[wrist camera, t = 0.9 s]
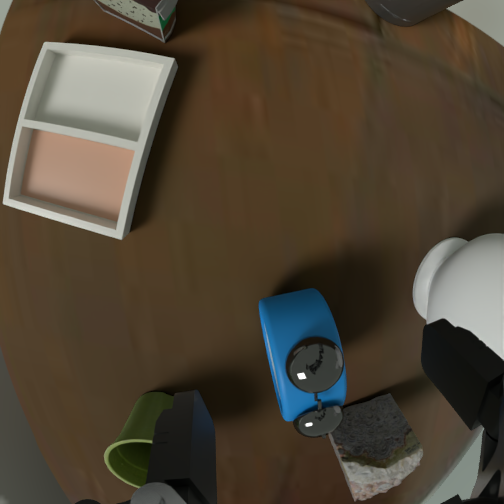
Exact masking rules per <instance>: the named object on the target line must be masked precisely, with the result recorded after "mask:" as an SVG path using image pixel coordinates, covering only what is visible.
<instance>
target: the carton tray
mask: <svg viewBox="0 0 504 504" xmlns="http://www.w3.org/2000/svg"><path fill="white" fill-rule="evenodd" d="M177 69H178V65H177V63H176V60H175V59H174V58H170V57H165V56H160V55H155V54H149V53H143V52H138V51H131V50H125V49H118V48H110V47H102V46H93V45H83V44H71V43H54V42H44V44H43V47H42V49H41V52H40V54H39V57H38V59H37V62H36V65H35V68H34V70H33V73H32V76H31V79H30V82H29V85H28V88H27V91H26V95H25V98H24V101H23V105H22V108H21V112H20V116H19V119H18V123H17V127H16V131H15V136H14V140H13V145H12V150H11V155H10V160H9V165H8V171H7V177H6V184H5V191H4V198H3V204H5V205H8V206H11V207H14V208H17V209H21V210H24V211H27V212H30V213H33V214H37V215H40V216H43V217H47V218H50V219H53V220H56V221H60V222H63V223H66V224H70V225H73V226H76V227H80V228H83V229H87V230H90V231H93V232H97V233H100V234H104V235H107V236H111V237H114V238H117V239H121V240H122V239H123V238H124V237H125V236H126V235H127V234H129V232H130V227H131V223H132V218H133V214H134V210H135V206H136V201H137V197H138V193H139V189H140V185H141V182H142V178H143V174H144V170H145V167H146V163H147V160H148V156H149V153H150V149H151V146H152V142H153V139H154V136H155V133H156V129H157V126H158V123H159V120H160V117H161V114H162V111H163V108H164V105H165V102H166V99H167V96H168V93H169V90H170V88H171V85H172V82H173V79H174V77H175V74H176V71H177Z"/></svg>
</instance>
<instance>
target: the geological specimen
mask: <svg viewBox="0 0 504 504" xmlns="http://www.w3.org/2000/svg"><path fill="white" fill-rule="evenodd" d="M328 435H329V438H330V440H331V443H332V445H333V448H334V450H335V453H336V455H337V458H338V460H339V462H340V465H341V468H342V470H343V472H344V475H345V478H346V481H347V483H348V486H349V488H350V491H351V493H352V496H353V498H354V501H356V500H361V501H362V500H366V499H368V498H372V497H373V496H374V495H376V494H378V493H380V492H383V493H385V492H387V491H388V489H389V488H392V487H393V486H397V485H399V484H400V483H401V481H402V480H403V479H404V478H405V477H406V476H407V475H408V474H409V473H411V472H412V471H414V470H415V469H416V466H420V461H419V460H420V459H421V458H422V456H423V448H422V445H421V444H420V442H419V440H418V439H417V437H416V435H415V433H414V432H413V430H412V428H411V427H410V425H408V422H407V420H406V419H405V417H404V415H403V414H402V412H401V410H400V409H399V407H398V405H397V404H396V402H395V401H394V399H393V397H392V396H391V394H390V393H389V394H387V395H383V396H378V397H376V398H374V399H372V400H371V401H367V402H365V403H359V404H355V405H353V406H349V407H346V408H344V419H343V422H342V424H341V425H340V426H339V427H338V428H337V429H336V430H335V431H334V432H332V433H331V434H328Z"/></svg>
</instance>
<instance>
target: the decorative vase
mask: <svg viewBox="0 0 504 504" xmlns="http://www.w3.org/2000/svg"><path fill="white" fill-rule="evenodd" d="M413 301H414V305H415V308H416V310H417V311H418V313H419V314H420V315H421V316H422V317H423V318H424V319H426V320H427V324H429V323H432V322H434V321H437V320H439V319H441V318H445V319H446V320H448V321H449V322H450V323H451V324H452V325H453V326H454V327H457V326H459V327H462V328H464V329H467V330H469V331H471V332H472V333H473V334H474V335H476V336H477V337H478V338H479V340H481V341H483V342H484V343H485V344H486V346H488V347H489V348H491V349H492V350H493V351H494V352H495V353H496V354H497V355H498V356H500V357H501V358H502V359H503V360H504V234H500V233H491V234H486V235H482V236H479V237H477V238H475V239H473V240H471V241H469V242H468V241H466V240H464V239H461V238H457V237H453V238H448V239H445V240H443V241H441V242H439V243H438V244H437V245H435V246H434V247H433V248H432V249H431V250H430V251H429V252H428V253H427V255H426V256H425V257H424V259H423V261H422V262H421V264H420V266H419V268H418V271H417V273H416V276H415V280H414V285H413Z"/></svg>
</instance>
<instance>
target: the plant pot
mask: <svg viewBox="0 0 504 504" xmlns="http://www.w3.org/2000/svg"><path fill="white" fill-rule="evenodd" d="M173 399H174V396H170V395H167V394H165V393H163V392H149V393H146V394H144V395H142V396H141V397H140V398H139V399H138V400H137V402H136V404H135V406H134V408H133V410H132V412H131V414H130V416H129V418H128V420H127V422H126V424H125V426H124V428H123V430H122V432H121V434H120V435H119V436H118V437H117V439H116V440H115V442H114V443H113V444H111V445H110V446H109V447H108V448H107V450H106V451H105V455H104V459H105V463H106V465H107V467H108V468H109V469H110V471H111V472H112V473H113V474H114V475H115V476H117V477H118V478H119V479H121V480H122V481H124V482H126V483H128V484H130V485H132V486H134V487H137V488H140V487H142V486H143V485H145V483H146V478H147V472H148V465H149V459H150V453H151V447H152V446H153V444H152V441H153V436H154V429H155V424H156V420H157V419H158V417H159V416H160V414H161V413H162V411H163V410H164V409H171V408H172V406H173Z"/></svg>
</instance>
